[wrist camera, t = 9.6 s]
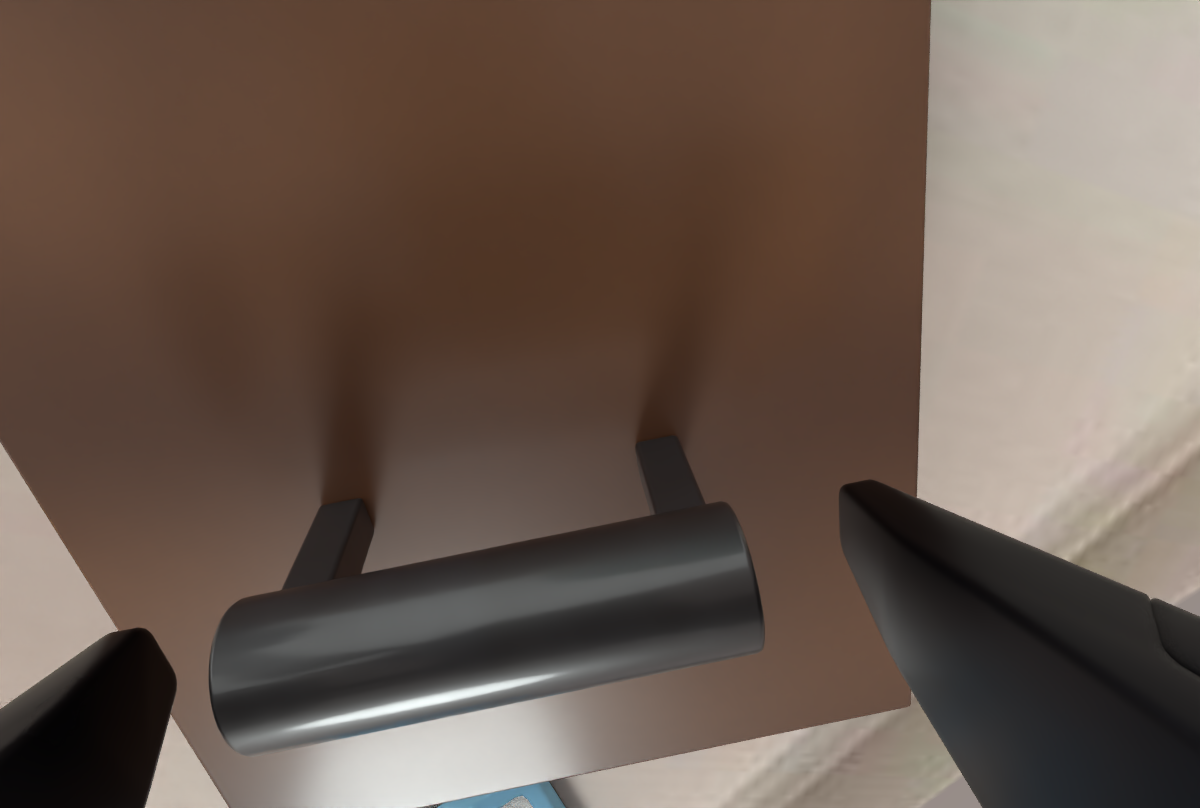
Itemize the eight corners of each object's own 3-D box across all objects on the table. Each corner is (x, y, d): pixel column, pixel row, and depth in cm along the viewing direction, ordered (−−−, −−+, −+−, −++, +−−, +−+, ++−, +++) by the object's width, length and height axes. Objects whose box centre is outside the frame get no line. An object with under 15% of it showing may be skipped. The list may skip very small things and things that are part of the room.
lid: (-301, -145, 8) (-1329, -410, 3) (908, -369, 8) (1363, -886, 4) (263, 807, 15) (157, 1108, 11) (893, 677, 15) (1041, 920, 11)
